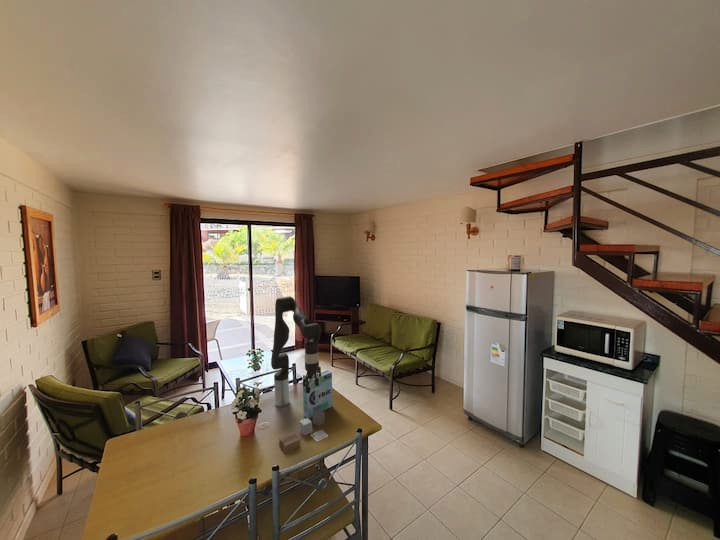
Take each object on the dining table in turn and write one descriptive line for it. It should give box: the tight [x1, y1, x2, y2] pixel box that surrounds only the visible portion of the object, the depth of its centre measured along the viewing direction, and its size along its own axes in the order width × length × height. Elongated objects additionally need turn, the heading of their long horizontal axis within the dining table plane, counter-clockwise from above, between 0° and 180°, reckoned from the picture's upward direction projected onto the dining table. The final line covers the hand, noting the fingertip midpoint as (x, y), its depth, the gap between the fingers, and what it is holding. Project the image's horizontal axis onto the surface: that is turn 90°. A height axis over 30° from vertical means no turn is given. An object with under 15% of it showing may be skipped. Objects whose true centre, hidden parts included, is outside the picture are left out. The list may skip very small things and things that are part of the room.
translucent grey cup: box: [312, 410, 326, 427], centre depth 168 cm, size 5×5×6 cm
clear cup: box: [299, 417, 313, 437], centre depth 160 cm, size 5×5×6 cm
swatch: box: [310, 429, 329, 443], centre depth 156 cm, size 7×7×1 cm
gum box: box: [302, 370, 334, 419], centre depth 180 cm, size 20×5×23 cm, turn 134°
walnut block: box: [278, 431, 301, 454], centre depth 149 cm, size 8×8×4 cm
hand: (312, 389), depth 156 cm, fingers open, 8 cm apart
